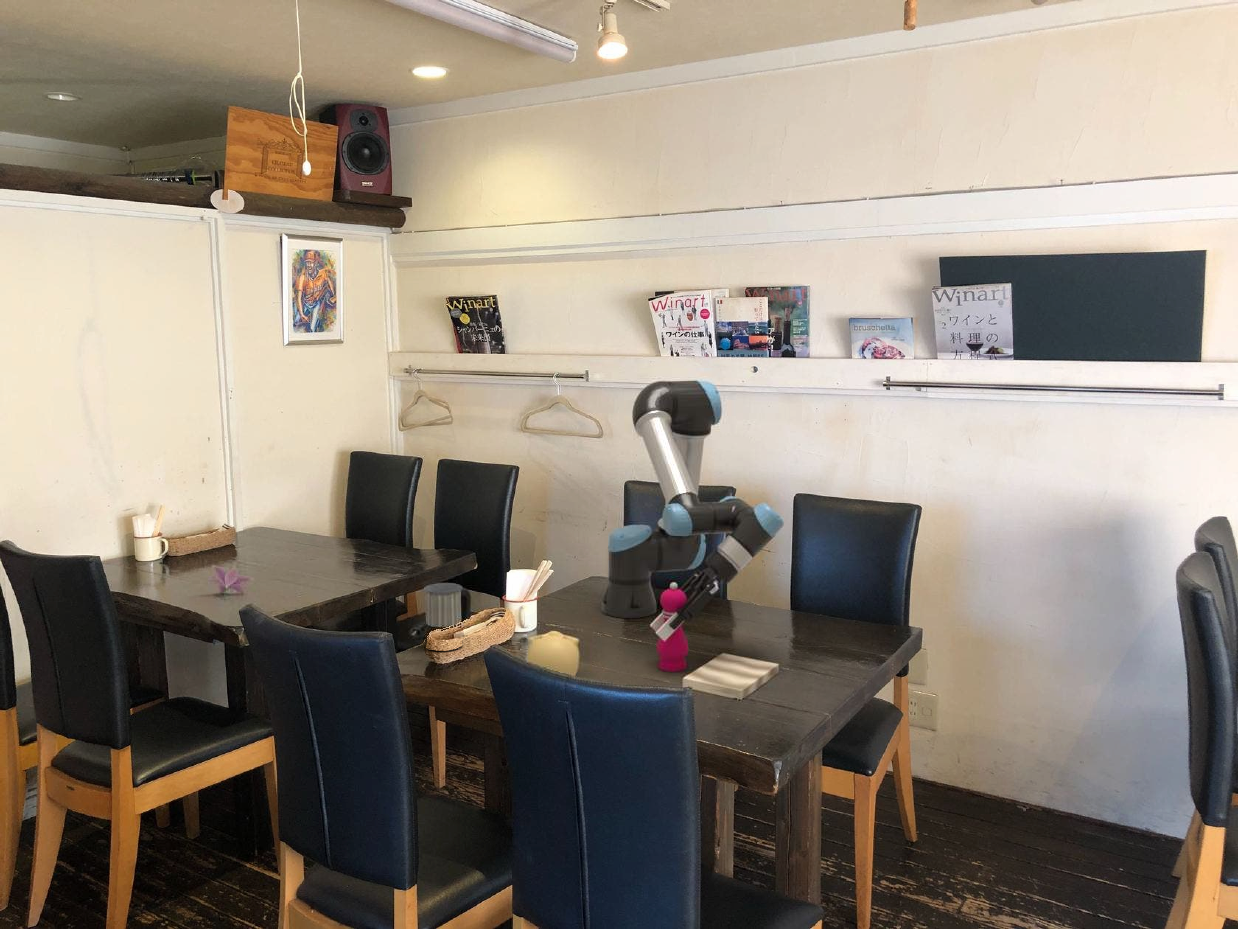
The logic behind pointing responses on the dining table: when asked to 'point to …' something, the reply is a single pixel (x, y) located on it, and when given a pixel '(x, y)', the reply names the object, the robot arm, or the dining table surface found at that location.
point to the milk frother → (443, 608)
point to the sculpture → (554, 652)
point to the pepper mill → (676, 642)
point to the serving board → (731, 676)
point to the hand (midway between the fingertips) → (657, 633)
